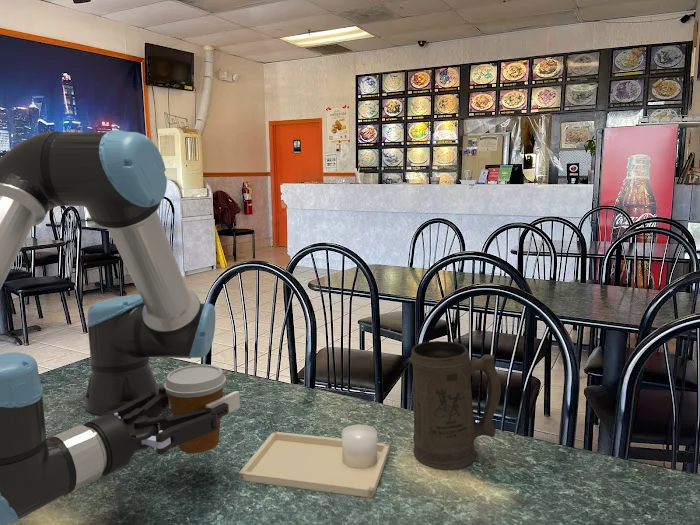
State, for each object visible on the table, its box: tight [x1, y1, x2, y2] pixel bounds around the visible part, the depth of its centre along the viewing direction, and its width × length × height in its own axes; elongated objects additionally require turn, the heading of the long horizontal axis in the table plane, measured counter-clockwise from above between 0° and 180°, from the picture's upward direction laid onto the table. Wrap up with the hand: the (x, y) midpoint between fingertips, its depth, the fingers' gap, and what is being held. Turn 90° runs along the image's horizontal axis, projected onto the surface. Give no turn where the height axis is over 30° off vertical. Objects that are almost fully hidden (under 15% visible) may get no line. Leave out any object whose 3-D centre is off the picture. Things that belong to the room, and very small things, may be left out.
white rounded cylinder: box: [341, 424, 378, 469], centre depth 94 cm, size 6×6×5 cm
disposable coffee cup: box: [163, 364, 227, 454], centre depth 88 cm, size 10×10×12 cm
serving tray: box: [238, 431, 391, 499], centre depth 93 cm, size 15×22×2 cm
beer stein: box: [409, 340, 502, 471], centre depth 95 cm, size 15×11×20 cm
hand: (218, 393), depth 92 cm, fingers closed on disposable coffee cup, 8 cm apart
